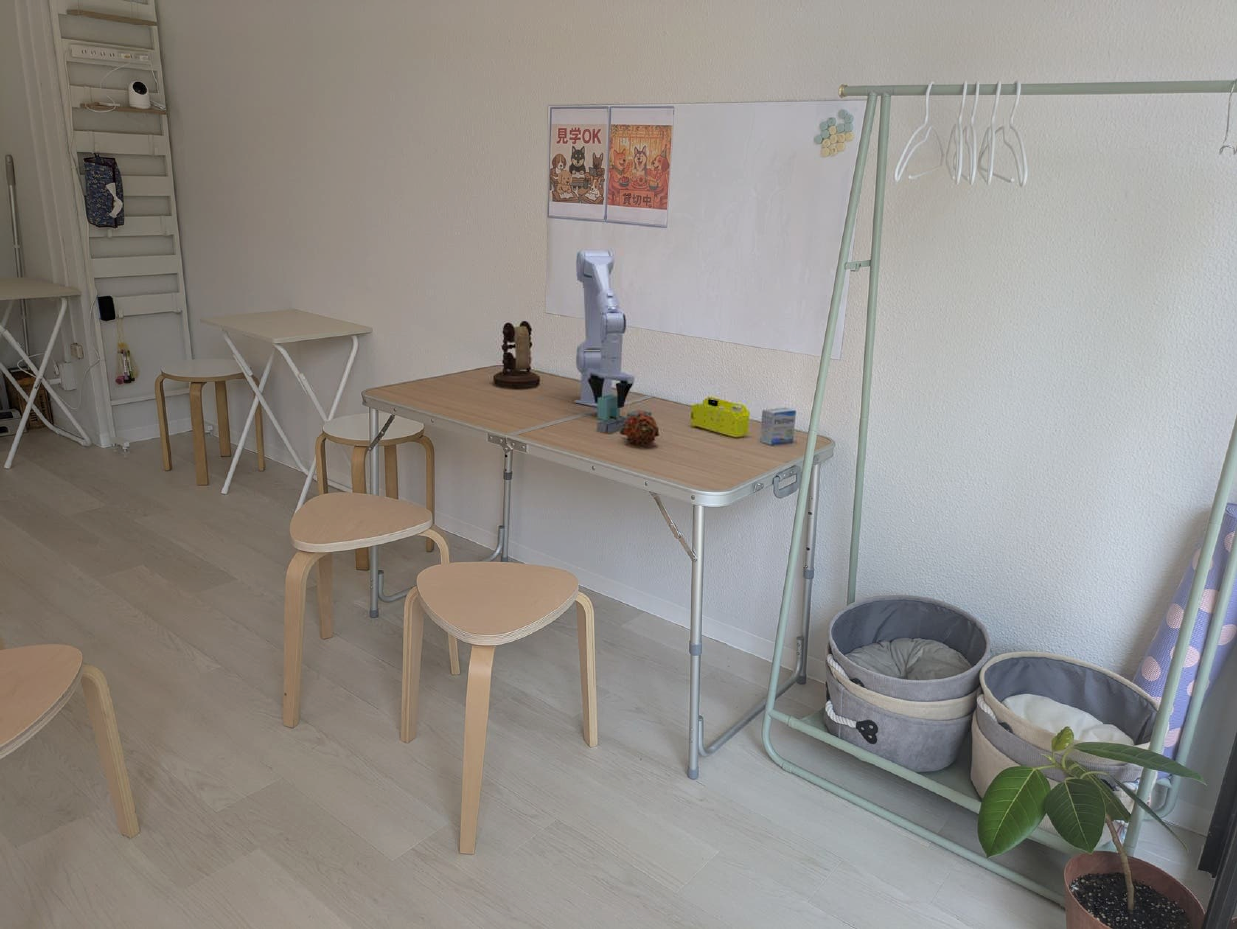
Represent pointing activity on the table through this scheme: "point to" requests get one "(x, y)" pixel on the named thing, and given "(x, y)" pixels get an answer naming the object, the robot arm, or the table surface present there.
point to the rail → (617, 422)
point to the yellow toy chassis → (721, 417)
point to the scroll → (517, 357)
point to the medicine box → (777, 426)
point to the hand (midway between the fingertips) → (609, 405)
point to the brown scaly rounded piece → (640, 429)
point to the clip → (608, 407)
